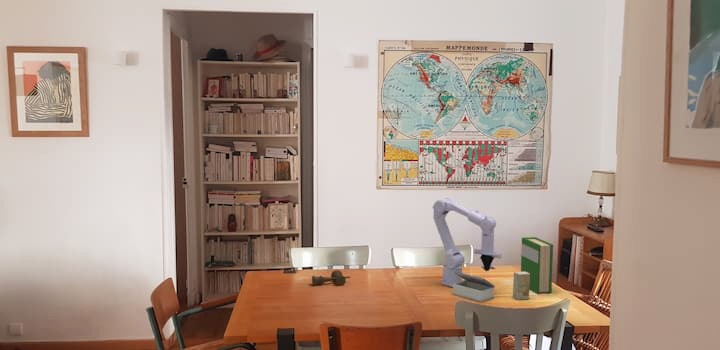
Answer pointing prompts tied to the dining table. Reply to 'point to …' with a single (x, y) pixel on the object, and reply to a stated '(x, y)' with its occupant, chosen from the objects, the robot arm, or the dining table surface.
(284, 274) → the dining table surface
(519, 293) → the skincare box
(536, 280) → the hardback book
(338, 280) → the kendama
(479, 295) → the box
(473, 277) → the lid
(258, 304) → the dining table surface
